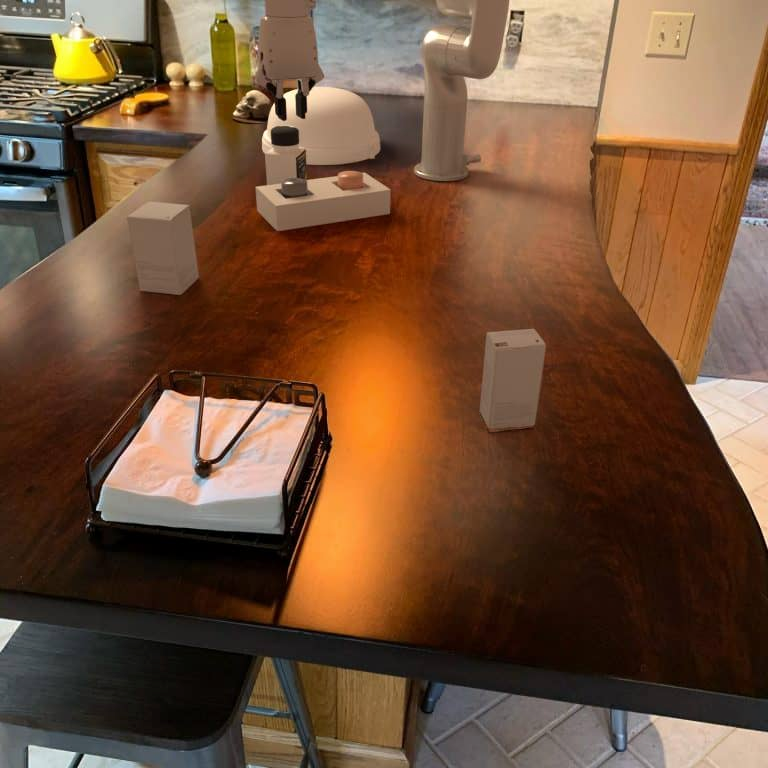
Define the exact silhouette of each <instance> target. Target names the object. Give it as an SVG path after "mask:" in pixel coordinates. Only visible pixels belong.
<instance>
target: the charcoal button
mask: <svg viewBox="0 0 768 768" xmlns="http://www.w3.org/2000/svg"><path fill="white" fill-rule="evenodd" d="M306 180H307V179H301V178H289V179H285V180H283V181H282V182H281V185H282V196H283V197H284V198H285V199H288V198H295V197H302V196H308V191H307V181H306Z"/></svg>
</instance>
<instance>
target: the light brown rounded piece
mask: <svg viewBox="0 0 768 768" xmlns="http://www.w3.org/2000/svg"><path fill="white" fill-rule="evenodd" d="M362 173H363V172H360V171H357V170H344V171H341V172H339V173H337V176H338V187H339V188H340V189H341V190H343V191H345V190H353V189H360V188H363V174H362Z"/></svg>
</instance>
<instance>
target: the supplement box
mask: <svg viewBox="0 0 768 768" xmlns="http://www.w3.org/2000/svg"><path fill="white" fill-rule="evenodd" d="M190 208H191V207H190V205H189V204H179V203H178V204H177V203H170V202H168V203H167V202H159V201H147V202H146V203H144V204H143V205H141V206H140V207H139V208H137V209H136V210H135V211H133V212H131V213H130V214H129V215H127V216H126V220H127V225H128V229H129V235H130V236H129V237H130V240H131V241H130V242H131V246H132V252H133V259H134V264H135V270H136V274H137V275H136V276H137V280H138V286H139V290H140V291H141V292H148V293H149V292H150V293H160V294H168V295H177V296H181V295H183V294H184V293H185V292H186V291H187V290H188V289H189V288H190V287H191V286H192V285H193V284H194V283H195V282H197V280H198V279H199V278H200V275H199V268H198V261H197V253H196V245H195V236H194V231H193V223H192V214H191V209H190Z"/></svg>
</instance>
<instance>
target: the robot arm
mask: <svg viewBox="0 0 768 768" xmlns="http://www.w3.org/2000/svg"><path fill="white" fill-rule="evenodd" d="M435 3H436V7H437V9H438V11H439V12H440V13H441V14H443V15H445V16H447V17H451V18H455V19H463V20H468V21H469V20H470V21H471V27H469V26H464V25H460V24H453V23H452V24H451V23H441V24H436V25H434V26H432V27H431V28H429V29H428V31H427V32H426V33H425V35H424V37H423V40H422V44H421V58H422V59H421V60H422V64H423V65H422V66H423V72H424V74H423V76H424V101H423V118H422V119H423V123H422V139H421V140H422V142H421V143H422V144H421V161H420V162H419V163H417V164H416V165H415V166H414V170H413V171H414V174H415V176H417V177H420V178H422V179H424V180H428V181H434V182H436V181H437V182H455V181H460V180H463V179H465V178H467V177H468V176H469V171H470V170H469V168H468V167H467V166H470V164H478V163H480V162H481V160H482V156H481V154H479V153H478V154H471V153H469V152H464V148H465V134H466V120H467V109H468V106H467V105H468V100H469V99H468V87H467V84H466V80H465V78H468V79H473V80H474V79H475V80H484V79H487V78H489V77H491V75H493V73H494V72H495V70H496V69H497V67H498V64H499V62H500V58H501V54H502V48H503V43H504V39H505V38H504V37H505V30H506V26H507V20H508V14H509V7H510V0H435ZM316 8H317V5H316V1H315V0H264V15H265V16H261V17H260V21H259V30H258V47H257V48H258V49H257V51H258V53H257V59H258V60H257V61H258V62H257V63H258V68H257V71H256V74H255V75H254V79H253V82H255V84H257V85H259V86H261V87H263V88H265V89H266V90H267V91H268V92H270V94H272V96H273V98H274V103H275V113H276V115H277V116H278V118H279V119H281V120H282V121H286V120H287V111H286V99H285V98H284V96H283V95H284V81H287V80H288V81H289V80H296V86H297V89H298V91H297V93H296V95H295V102H296V115H297V116H298V117H300V118H301V119H305V113H307V96H308V95H309V92H310V91H311V89H312V88H313V87H316V84H318V83H320V82H321V81H322V80H324V79H325V77H326V76H325V74H324V72H323V70H322V68H321V65H320V64H319V53H318V43H317V35H316V29H315V25H314V20H313V17H311V16H310V13H311V10H315V9H316ZM266 78H267V79H269V80H271V82H270V81H269V80H267V79H266Z"/></svg>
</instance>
